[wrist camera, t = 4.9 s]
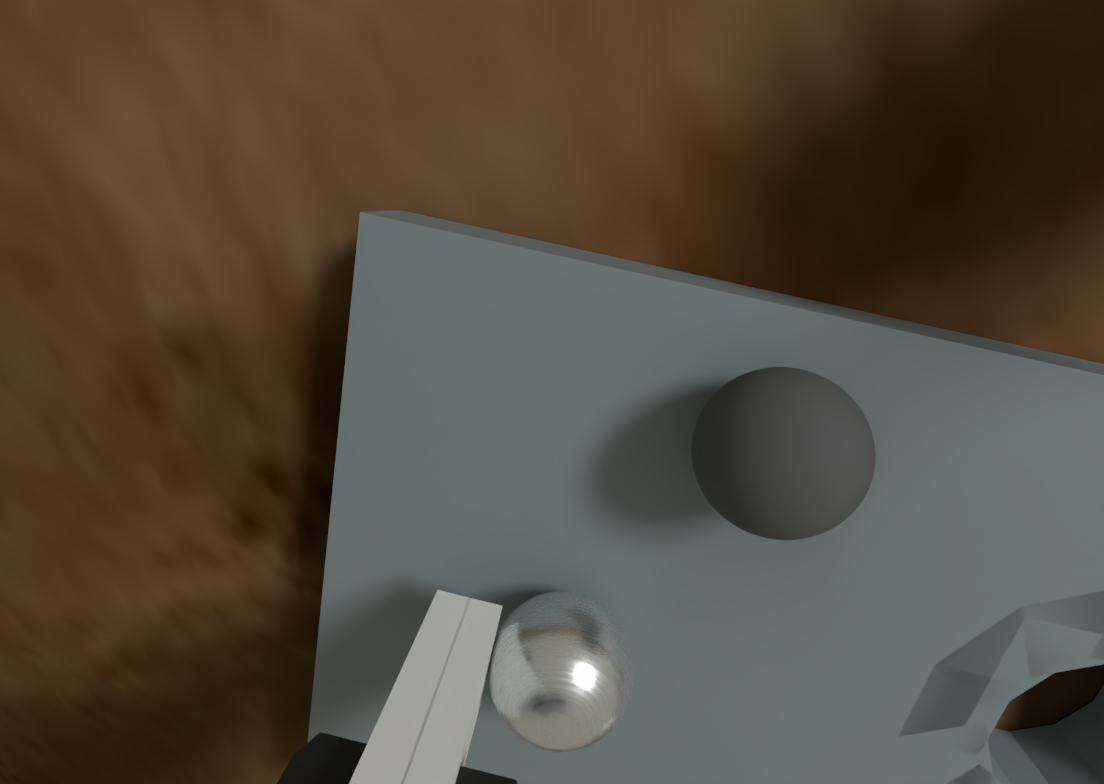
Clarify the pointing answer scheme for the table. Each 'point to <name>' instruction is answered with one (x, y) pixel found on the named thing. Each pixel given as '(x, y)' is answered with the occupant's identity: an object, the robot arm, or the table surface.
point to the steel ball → (561, 672)
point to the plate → (710, 519)
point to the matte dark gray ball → (783, 453)
